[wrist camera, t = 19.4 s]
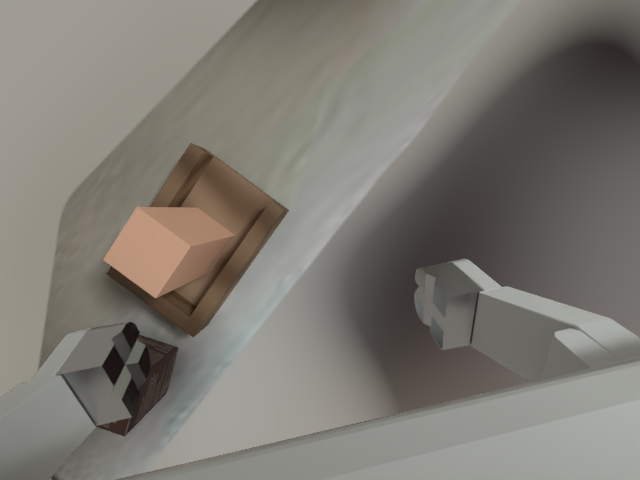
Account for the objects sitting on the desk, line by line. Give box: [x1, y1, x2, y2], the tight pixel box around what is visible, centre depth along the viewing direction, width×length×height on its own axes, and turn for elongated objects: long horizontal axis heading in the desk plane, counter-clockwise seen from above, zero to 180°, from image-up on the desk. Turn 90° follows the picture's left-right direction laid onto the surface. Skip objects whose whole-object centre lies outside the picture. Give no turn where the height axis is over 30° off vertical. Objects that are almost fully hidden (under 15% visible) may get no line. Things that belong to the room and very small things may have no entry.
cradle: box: [107, 143, 289, 337], centre depth 33 cm, size 16×11×4 cm
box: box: [96, 335, 178, 436], centre depth 33 cm, size 6×6×7 cm
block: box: [103, 207, 235, 298], centre depth 29 cm, size 5×5×10 cm
